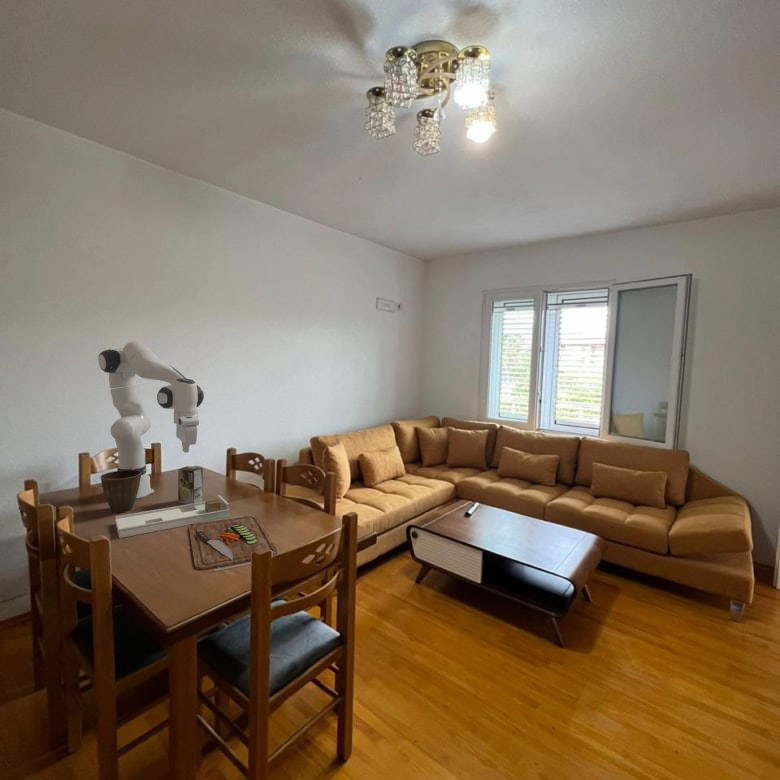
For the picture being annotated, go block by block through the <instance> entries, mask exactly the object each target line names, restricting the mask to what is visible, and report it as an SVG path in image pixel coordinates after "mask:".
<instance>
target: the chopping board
mask: <svg viewBox="0 0 780 780" xmlns="http://www.w3.org/2000/svg"><path fill="white" fill-rule="evenodd" d="M188 532H189V537H190V539H189V540H190V545H191V551H192V557H193V564H194V567H195V569H197V570H198V571H201V570H202V571H204V570H210V569H213V572H215V573H216V572H219V571H223V570H224V571H225V570H230V569H235V568H240V567H245V566H251V565H252V564H251V562H252V561H251V553H252V552H255V551H265V550H272V551H273V555H275V556H277V555H278V552H279V551H278V548H277V546H276V545H275V543H274V541H273V539H272V538H271V537H270V535H269V533H268V531H267V530H266V528H265V526H264V525H263V522H261V520H260V518H259V517H258V516H256V515H245V516H243V515H239V516H231V517H227V518H222V519H215V520H208V521H202V522H201V523H196V524H190V525H188ZM276 554H277V555H276Z"/></svg>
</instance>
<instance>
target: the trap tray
mask: <svg viewBox="0 0 780 780" xmlns="http://www.w3.org/2000/svg"><path fill="white" fill-rule="evenodd" d="M217 499H218V500H219V501H220V511H215V512H210V513H207V511H206V510H205V501H202V502H199V503H193V504H183V505H181V504H180V505H177V506H176V505H175V506H170V507H164V508H158V509H152V510H145V511H139V512H134V513H127V514H121V515H116V516H115V527H116V530H117V535H118V538H119V539H121V538H127V537H132V536H137V535H142V534H149V533H152V532H154V533H155V532H158V531H163V530H169V529H175V528H179V527H183V526H185V527H186V526H190V525H192V524H196V523H202V521H208V520H215V519H223V518H230V516H231V509H230V503H229V502H228V501H227V500H225V498H223V496H222V495H220V494H218V495H217Z"/></svg>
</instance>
